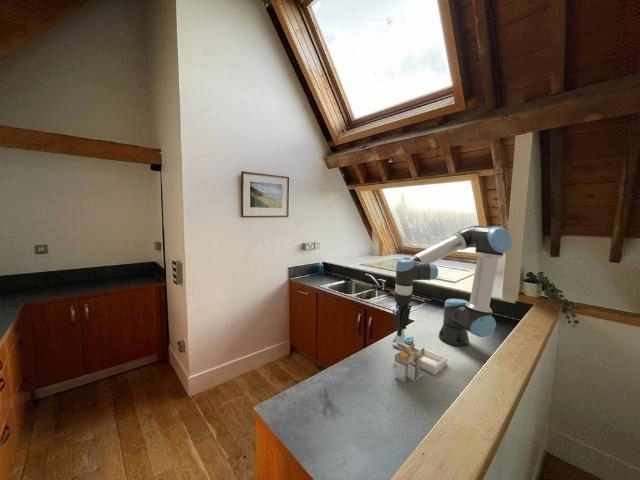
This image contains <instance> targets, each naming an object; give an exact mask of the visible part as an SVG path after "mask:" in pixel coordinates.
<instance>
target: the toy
mask: <svg viewBox="0 0 640 480" xmlns="http://www.w3.org/2000/svg"><path fill="white" fill-rule="evenodd" d="M396 341H397V333H396V334H395V335H394V338H393V339H392V343H394V342H396ZM414 341H415V340H414V337H413V336H411V335H409V336H406V335H405V334H404V342H403V343H404V344H406V345H412V344H414Z"/></svg>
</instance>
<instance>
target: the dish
mask: <svg viewBox="0 0 640 480" xmlns="http://www.w3.org/2000/svg"><path fill="white" fill-rule="evenodd" d="M422 348H423V347H421V348H420V349H419V350H421V349H422ZM419 359H421V362H420V370H423V371H426V372H428V373H430V374H432V375H434V376H436V375H437V374H438V373H439V372H441V371H442V370H443V369H444V368H446V366H448V357H447V356H444V355H441V354H438V353H436V352H435V351H432V350H430V349H428V348H425V351H424V355H422V356H421V357H419ZM410 365H413V366H415V362H412V363H411V364H410Z"/></svg>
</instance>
